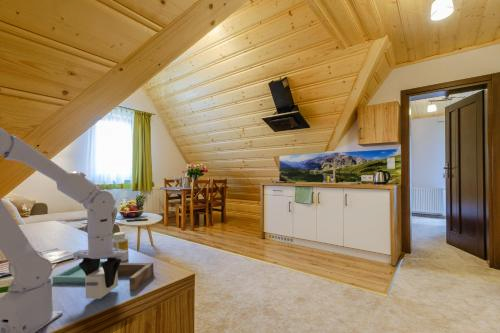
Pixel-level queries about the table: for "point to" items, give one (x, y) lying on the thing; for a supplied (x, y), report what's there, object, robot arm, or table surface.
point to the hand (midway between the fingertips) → (102, 285)
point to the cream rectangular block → (98, 284)
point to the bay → (136, 273)
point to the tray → (72, 276)
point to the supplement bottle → (120, 242)
